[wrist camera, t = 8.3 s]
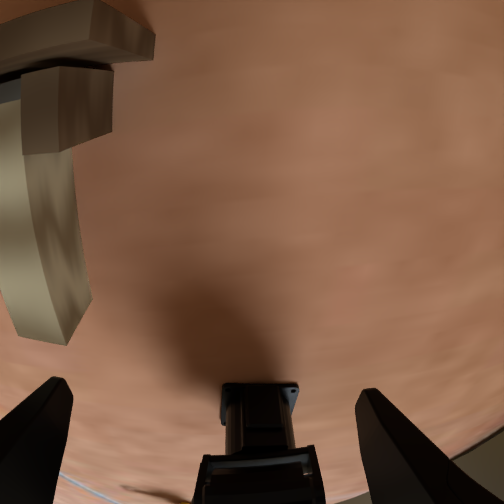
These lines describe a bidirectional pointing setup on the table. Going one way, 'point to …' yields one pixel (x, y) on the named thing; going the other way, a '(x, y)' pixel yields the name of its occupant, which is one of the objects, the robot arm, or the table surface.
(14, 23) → the headboard
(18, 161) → the rail
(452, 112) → the table surface
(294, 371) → the table surface
